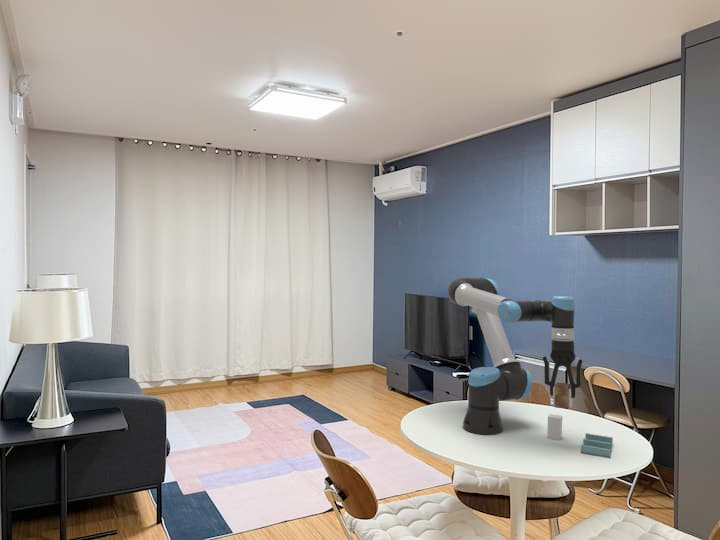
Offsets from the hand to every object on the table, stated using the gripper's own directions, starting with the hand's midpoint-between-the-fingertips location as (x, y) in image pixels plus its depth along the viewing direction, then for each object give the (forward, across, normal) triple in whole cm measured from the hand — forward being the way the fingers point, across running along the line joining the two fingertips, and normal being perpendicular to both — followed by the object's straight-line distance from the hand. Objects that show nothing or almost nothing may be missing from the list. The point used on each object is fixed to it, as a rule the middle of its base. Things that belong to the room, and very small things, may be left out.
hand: (562, 405), depth 193 cm
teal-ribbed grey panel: (+15, +11, +6) cm, 19 cm away
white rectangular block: (+14, -4, +10) cm, 18 cm away
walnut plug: (0, 0, 0) cm, 0 cm away
